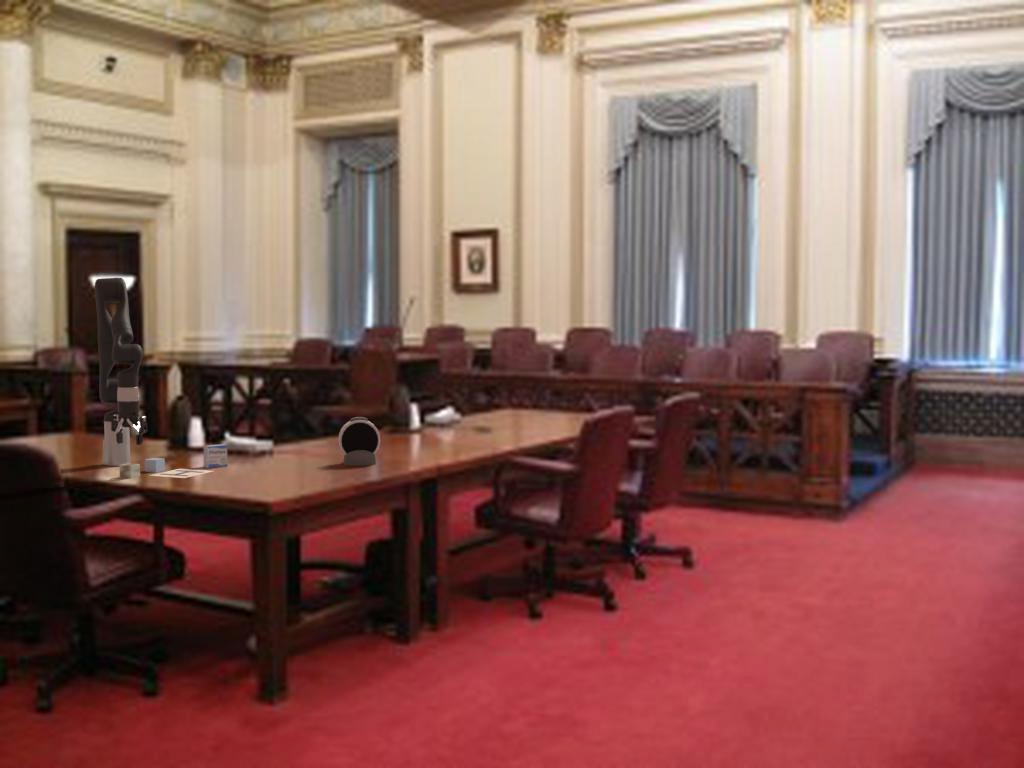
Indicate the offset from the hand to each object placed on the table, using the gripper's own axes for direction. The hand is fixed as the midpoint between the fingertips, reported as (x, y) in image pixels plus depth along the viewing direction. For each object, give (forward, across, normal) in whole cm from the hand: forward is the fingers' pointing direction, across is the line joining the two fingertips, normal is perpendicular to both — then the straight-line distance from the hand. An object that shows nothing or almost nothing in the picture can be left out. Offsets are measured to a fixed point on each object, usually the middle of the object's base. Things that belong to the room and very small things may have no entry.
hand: (129, 444), depth 421 cm
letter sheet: (+12, +12, +14) cm, 22 cm away
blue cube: (+13, -1, +15) cm, 19 cm away
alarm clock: (+13, +59, +62) cm, 87 cm away
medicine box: (+13, +13, +33) cm, 37 cm away
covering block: (+12, 0, 0) cm, 12 cm away
